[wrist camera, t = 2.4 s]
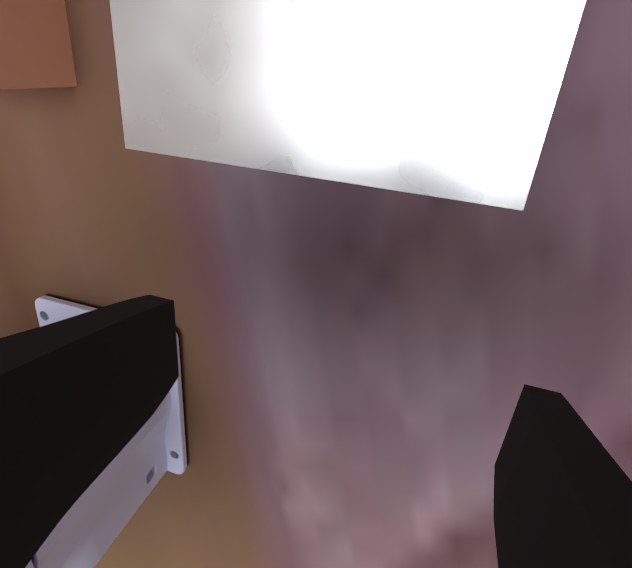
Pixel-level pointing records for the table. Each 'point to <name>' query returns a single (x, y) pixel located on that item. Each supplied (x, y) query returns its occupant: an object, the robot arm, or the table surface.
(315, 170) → the housing
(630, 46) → the table surface
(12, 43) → the terracotta block
